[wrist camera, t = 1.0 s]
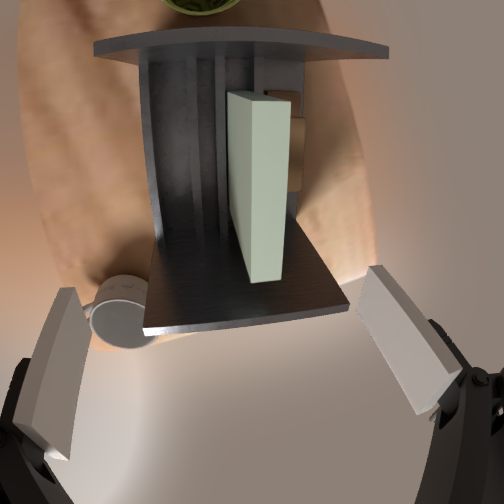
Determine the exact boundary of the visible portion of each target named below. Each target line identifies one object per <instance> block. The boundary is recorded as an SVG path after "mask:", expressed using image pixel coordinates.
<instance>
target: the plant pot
mask: <svg viewBox="0 0 504 504" xmlns="http://www.w3.org/2000/svg"><path fill="white" fill-rule="evenodd" d="M161 1H162V2H163V3H164V4H165V5H167V6H168V7H169V8H171V9H173V10H175V11H177V12H180V13H183V14H187V15H190V16H205V15H211V14H216V13H219V12H222V11H225V10H227V9H229V8H231V7H232V6H234V5H235V4H237V3H238V2H239V1H240V0H220V1H219V2H218V4H217V5H214V3H215V2H216V1H217V0H161ZM186 8H189V9H192V10H196V11H197V12H195V11H189V10H186Z"/></svg>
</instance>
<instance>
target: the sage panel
mask: <svg viewBox="0 0 504 504" xmlns="http://www.w3.org/2000/svg"><path fill="white" fill-rule="evenodd" d="M290 115H291V102H290V101H287V100H283V99H279V98H275V97H271V96H267V95H263V94H259V93H255V92H251V91H246V90H232V91H225V129H226V177H227V202H228V206H229V209H230V213H231V216H232V219H233V223H234V226H235V230H236V233H237V237H238V240H239V244H240V247H241V250H242V254H243V257H244V261H245V264H246V268H247V271H248V274H249V278H250V281H251V283H256V282H265V281H274V280H281V273H282V260H283V246H284V231H285V216H286V199H287V181H288V162H289V140H290Z"/></svg>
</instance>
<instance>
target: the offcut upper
mask: <svg viewBox="0 0 504 504" xmlns="http://www.w3.org/2000/svg"><path fill="white" fill-rule="evenodd" d="M305 128H306V118H303V117H301V116H290V140H289V162H288V181H287V192H295V191H301V190H302V177H303V162H304V146H305Z"/></svg>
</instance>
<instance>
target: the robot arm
mask: <svg viewBox="0 0 504 504" xmlns="http://www.w3.org/2000/svg"><path fill="white" fill-rule="evenodd" d="M356 312H357V314H358V315H359V317H360V318H361V320H362V322H363V323H364V325H365V327H366V328H367V330H368V331H369V333H370V335H371V336H372V338H373V340H374V341H375V343H376V345H377V346H378V348H379V350H380V351H381V353H382V355H383V356H384V358H385V360H386V362H387V363H388V365H389V367H390V368H391V370H392V372H393V374H394V375H395V377H396V379H397V381H398V382H399V384H400V386H401V388H402V389H403V391H404V393H405V395H406V397H407V398H408V400H409V402H410V404H411V405H412V407H413V409H414V411H415V413H416V414H417V415H419V414H421V413H423V412H426V411H428V410H430V409H431V408H432V407H433V406H434V404H435V403H436V402H437V401H438V403H439V405H440V407H439V408H438V409H437V410H436V411H435V412H434V413H433V414H432V416H431V417H430V419H429V421H432V420H433V418H434V417H435V416H436V420H435V421H434V422H435V426H434V431H433V436H432V441H431V446H430V450H429V454H428V458H427V462H426V466H425V470H424V474H423V477H422V481H421V485H420V488H419V491H418V494H417V497H416V501H415V504H504V413H503V414H502V415H499V410H500V409H501V408H502V407H503V412H504V368H503V369H502V370H501V371H500V373H494V374H488V373H487V372H486V371H485V370H483V369H481V368H478V367H473V368H472V367H471V366H470V364H469V363H468V362H467V360H466V359H465V358H464V356H463V355H462V354H461V352H460V351H459V349H458V348H457V347H456V345H455V344H454V343H452V340H451V339H450V337H449V336H447V333H446V332H445V331H444V330H443V328H442V327H441V326H440V325H439V324H437V323H436V322H435V321H433V320H432V319H430V320H427V319H426V318H425V316H424V315H423V314H422V313H421V312H420V310H419V309H418V308H417V306H416V305H415V304H414V303H413V301H412V300H411V299H410V298H409V296H408V295H407V294H406V293H405V292H404V290H403V289H402V288H401V287H400V286H399V284H398V283H397V282H396V281H395V280H394V278H393V277H392V276H391V275H390V274H389V272H388V271H387V270H386V269H385V268H384V267H383V265H376V266H369V267H368V271H367V274H366V278H365V281H364V285H363V288H362V292H361V295H360V298H359V301H358V304H357V308H356ZM91 336H92V331H91V328H90V326H89V324H88V321H87V319H86V316H85V313H84V311H83V308H82V305H81V303H80V300H79V297H78V294H77V292H76V289H75V287H67V288H60V289H59V291H58V293H57V296H56V298H55V300H54V302H53V305H52V307H51V309H50V312H49V314H48V316H47V319H46V321H45V323H44V326H43V329H42V331H41V334H40V337H39V339H38V341H37V344H36V347H35V349H34V352H33V355H32V358H23V359H22V360H21V362H20V363H19V364H18V365H17V367H16V368H15V371H14V374H13V377H12V381H11V383H10V386H9V390H8V392H7V396H6V399H5V402H4V406H3V409H2V413H1V416H0V504H74V503H73V501H72V500H71V499H70V497H69V496H68V494H67V493H66V492H65V490H64V489H63V487H62V486H61V484H60V483H59V481H58V480H57V478H56V476H55V475H54V473H53V472H52V470H51V468H50V467H49V465H48V463H47V462H46V461H45V460H44V452H46V453H47V454H48V455H49V456H51V457H52V458H56V459H62V460H68V461H69V459H70V458H69V457H70V449H71V440H72V433H73V426H74V419H75V413H76V407H77V400H78V395H79V390H80V385H81V379H82V375H83V370H84V365H85V361H86V356H87V352H88V348H89V344H90V340H91Z"/></svg>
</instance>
